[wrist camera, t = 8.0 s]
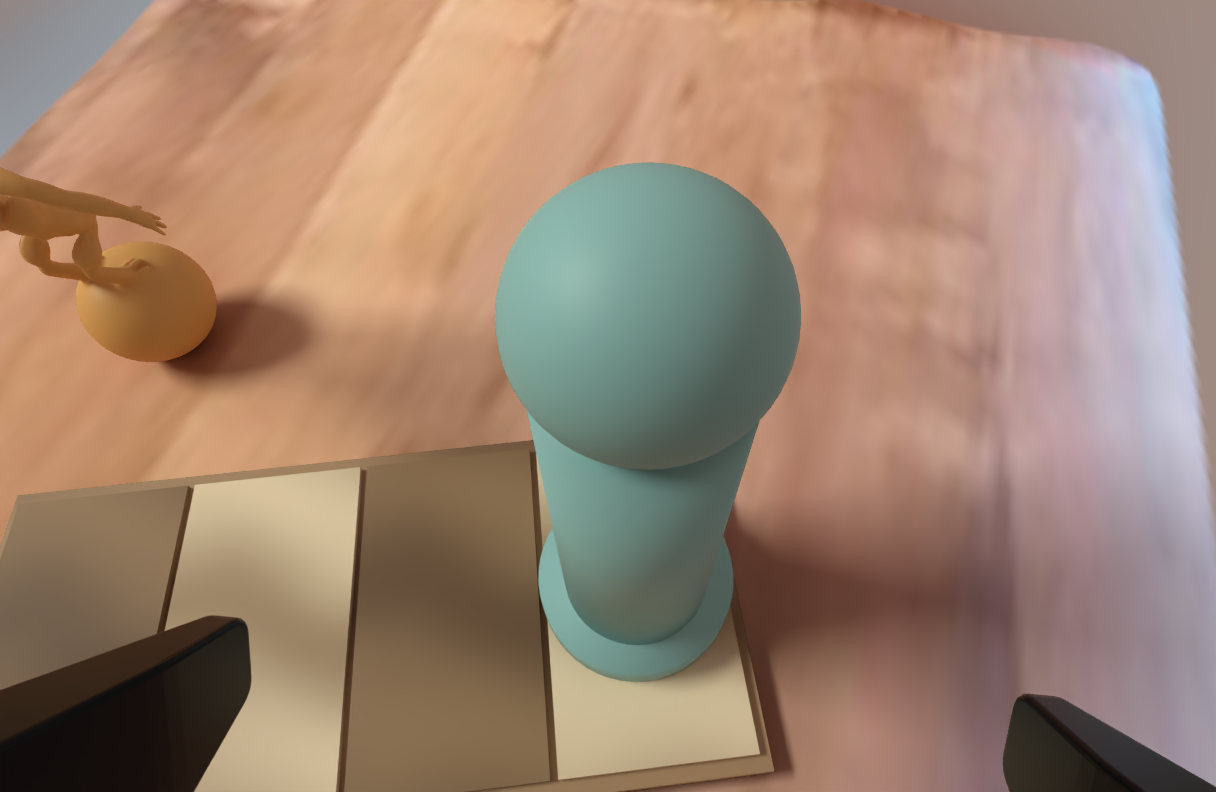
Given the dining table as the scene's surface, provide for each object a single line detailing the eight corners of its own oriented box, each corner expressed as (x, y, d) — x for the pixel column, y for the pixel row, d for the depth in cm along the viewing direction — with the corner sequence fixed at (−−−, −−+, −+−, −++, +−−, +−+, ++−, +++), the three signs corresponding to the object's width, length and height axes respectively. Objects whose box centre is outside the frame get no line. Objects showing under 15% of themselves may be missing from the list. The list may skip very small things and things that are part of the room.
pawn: (746, 669, 19) (950, 368, 7) (548, 693, 19) (420, 424, 7) (709, 488, 22) (812, 54, 10) (536, 507, 22) (429, 87, 10)
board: (771, 773, 18) (775, 770, 18) (-100, 885, 17) (-126, 886, 17) (700, 429, 24) (701, 419, 23) (29, 502, 23) (13, 493, 22)
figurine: (310, 306, 27) (117, -30, 17) (244, 450, 24) (-43, 146, 13) (100, 284, 27) (-208, -49, 17) (9, 422, 24) (-433, 113, 14)
